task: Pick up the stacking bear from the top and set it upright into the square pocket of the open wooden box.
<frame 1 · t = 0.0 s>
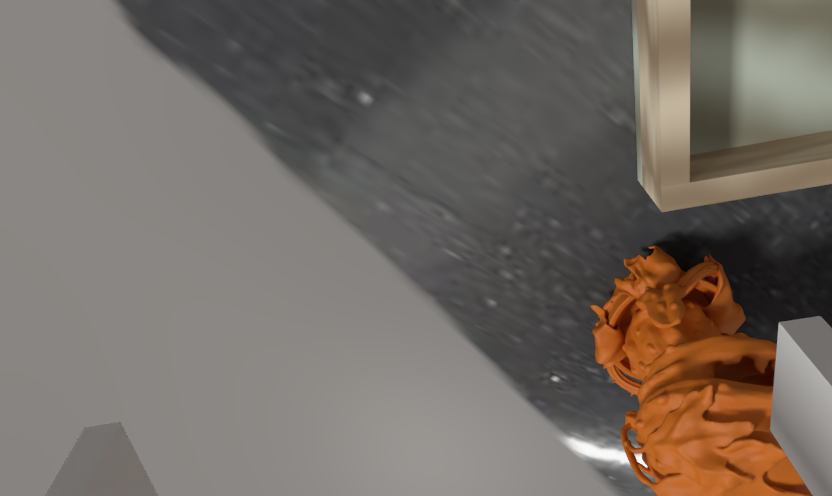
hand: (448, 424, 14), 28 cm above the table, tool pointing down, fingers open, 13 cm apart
toy dinosaur: (656, 298, 46), on the table
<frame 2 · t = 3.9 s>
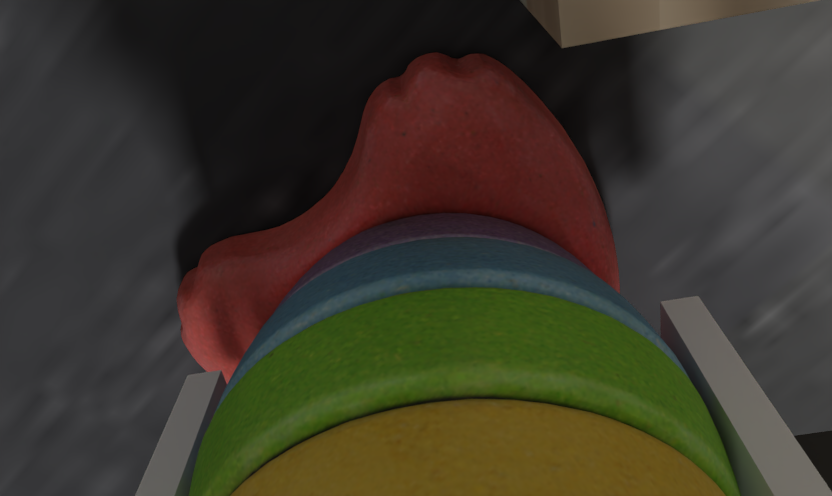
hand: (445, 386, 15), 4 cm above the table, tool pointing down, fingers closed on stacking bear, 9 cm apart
stacking bear: (432, 293, 18), on the table, touching gripper
when the fingers open (6 cm above the table, at t = 10.4 s): stacking bear drops 2 cm, resting on open wooden box.
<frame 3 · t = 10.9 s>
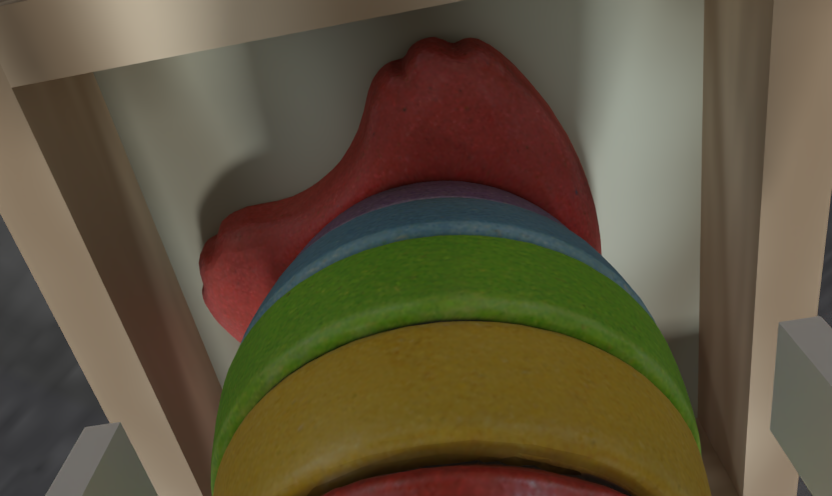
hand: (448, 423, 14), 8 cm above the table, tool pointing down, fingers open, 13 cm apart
stacking bear: (431, 260, 20), point 1 cm above the table, touching open wooden box
open wooden box: (434, 244, 21), on the table
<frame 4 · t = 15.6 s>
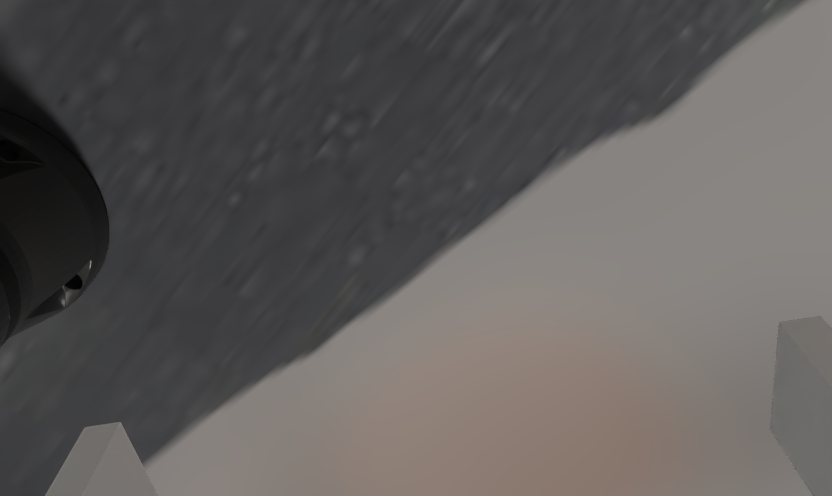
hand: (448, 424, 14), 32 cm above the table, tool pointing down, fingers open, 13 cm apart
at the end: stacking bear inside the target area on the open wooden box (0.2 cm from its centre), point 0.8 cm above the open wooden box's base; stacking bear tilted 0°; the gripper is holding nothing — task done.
